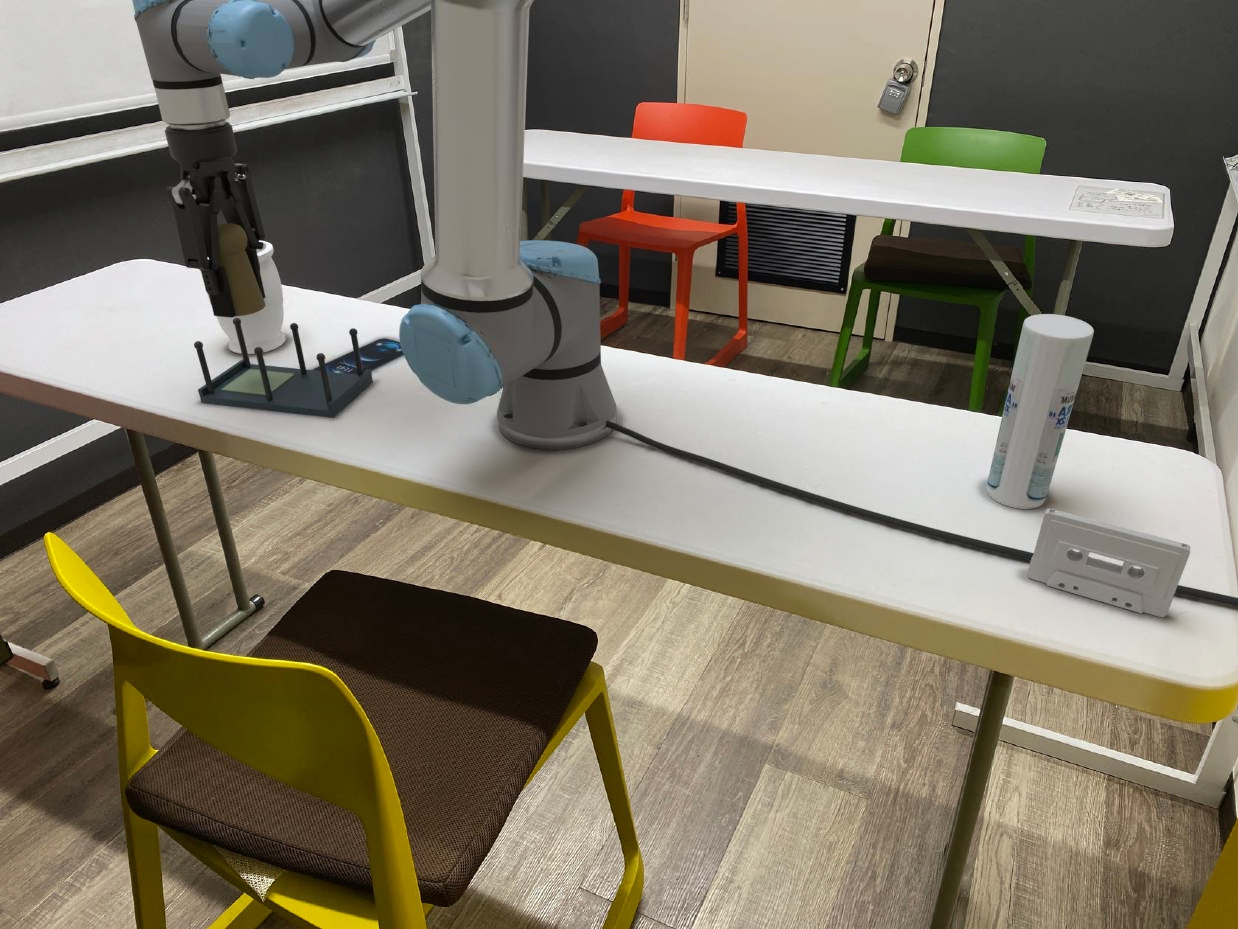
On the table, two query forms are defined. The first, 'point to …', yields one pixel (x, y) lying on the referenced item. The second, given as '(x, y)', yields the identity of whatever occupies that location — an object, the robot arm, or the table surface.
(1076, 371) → the spray can
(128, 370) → the table surface
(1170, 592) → the cassette
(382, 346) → the smartphone
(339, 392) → the drying rack
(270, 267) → the jar
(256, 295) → the cork
